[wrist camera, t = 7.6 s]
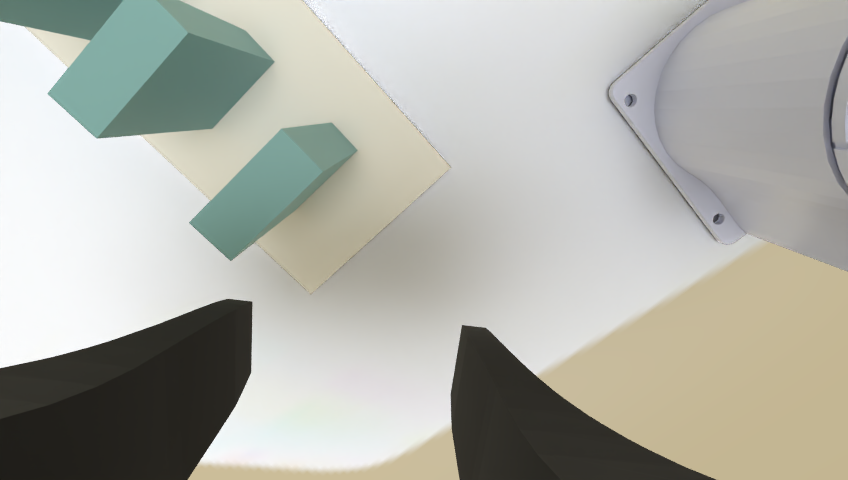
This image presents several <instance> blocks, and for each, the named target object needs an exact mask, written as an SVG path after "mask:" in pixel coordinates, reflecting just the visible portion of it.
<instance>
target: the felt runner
mask: <svg viewBox="0 0 848 480" xmlns="http://www.w3.org/2000/svg"><path fill="white" fill-rule="evenodd" d="M180 1H182V2H184V3H187V4H189V5H191V6H193V7H195V8H197V9H200V10H202V11H204V12H206V13H208V14H211V15H213V16H215V17H217V18H219V19H222V20H224V21H226V22H228V23H230V24H232V25H235V26H237V27H239V28H241V29H243V30H246V31H247V33H248V34H249V35H250V36H251V37H252V38H253V39H254V40H255V41H256V42H257V43H258V44H259V45H260V46H261V47H262V49H263V50H264V51H265V52H266V53H267V54H268V55H269V56H270V57H271V58H272V59H273V60H274V61H275V62H274V63H273V64H272V65H271V66H270V68H269V69H268V70H267V71H266V72H265V73H264V74H263V75H262V76H261V77H260V78H259V79H258V80H257V81H256V83H255V84H254V85H253V86H252V87H251V88H250V89H249V90H248V91H247V92H246V93H245V94H244V95H243V96H242V98H241V99H240V100H239V101H238V102H237V103H236V104H235V105H234V106H233V107H232V108H231V109H230V110H229V111H228V113H227V114H226V115H225V116H224V117H223V118H222V119H221V120H220V121H219V122H218V123H217V124H216V125H215V127H214V128H213V129H204V130H192V131H180V132H168V133H156V134H144V135H141V136H142V137H143V138H144V139H145V140H146V141H147V142H148V143H149V144H150V145H152V146H153V147H154V148H155V149H156V150H157V151H158V152H159V153H160V154H161V155H162V156H163V157H164V158H165V159H167V160H168V161H169V162H170V163H171V164H172V165H173V166H174V167H175V168H176V169H177V170H178V171H179V172H180V173H181V174H183V175H184V176H185V177H186V178H187V179H188V180H189V181H190V182H191V183H192V184H193V185H194V186H195V187H196V188H198V189H199V190H200V191H201V192H202V193H203V194H204V195H205V196H206V197H207V198H208V199H209V200H210V201H211V200H212V199H213V198H214V197H215V196H216V195H217V194H218V193H219V192H220V191H221V190H222V189H223V188H224V187H225V186H226V185H227V184H228V183H229V182H230V181H231V180H232V178H233V177H234V176H235V175H236V174H237V173H238V172H239V171H240V170H241V169H242V168H243V167H244V166H245V165H246V164H247V163H248V162H249V161H250V160H251V159H252V158H253V157H254V156H255V155H256V154H257V153H258V152H259V151H260V150H261V149H262V148H263V147H264V146H265V145H266V144H267V143H268V142H269V141H270V140H271V139H272V138H273V137H274V136H275V135H276V134H277V133H278V132H279V130H280V129H281V128H289V127H298V126H306V125H314V124H322V123H330V122H332V123H333V124H334V125H335V126H336V128H337V129H338V130H339V131H340V132H341V133H342V134H343V135H344V136H345V137H346V138H347V139H348V140H349V141H350V142H351V144H352V145H353V146H354V147H355V148H356V149H357V150H358V151H357V152H356V153H355V154H353V155H352V156H351V157H350V158H349V159H348V160H347V161H346V162H345V163H344V164H343V165H342V166H341V167H340V168H339V169H338V170H337V171H336V172H335V173H334V174H333V175H332V176H331V177H330V178H329V179H327V180H326V181H325V182H324V183H323V184H322V185H321V186H320V187H319V188H318V189H317V190H316V191H315V192H314V193H313V194H312V195H311V196H310V197H309V198H308V199H307V200H306V201H305V202H304V203H303V204H301V205H300V206H299V207H298V208H297V209H296V210H295V211H294V212H293V213H291V214H290V215H289V216H288V217H286V218H285V219H284V220H282V221H281V222H280V223H279V224H277V225H276V226H275V227H273V228H272V229H271V230H270V231H268V232H267V233H266V234H265V235H263V236H262V237H261V238H259V239H258V240H257V241H256V242H255V243H256V244H257V245H258V246H260V247H261V248H262V249H263V250H264V251H265V252H266V253H267V254H268V255H269V256H270V257H271V258H272V259H273V260H275V261H276V262H277V263H278V264H279V265H280V266H281V267H282V268H283V269H284V270H285V271H286V272H287V273H288V274H289V275H291V276H292V277H293V278H294V279H295V280H296V281H297V282H298V283H299V284H300V285H301V286H302V287H303V288H304V289H306V290H307V291H308V292H309V293H310V294H312V293H313V292H314V291H315V290H316V289H317V288H319V287H320V286H321V285H322V284H323V283H324V282H325V281H326V280H327V279H328V278H330V277H331V276H332V275H333V274H334V273H335V272H336V271H337V270H338V269H340V268H341V267H342V266H343V265H344V264H345V263H346V262H347V261H348V260H350V259H351V258H352V257H353V256H354V255H355V254H356V253H357V252H358V251H359V250H361V249H362V248H363V247H364V246H365V245H366V244H367V243H368V242H369V241H371V240H372V239H373V238H374V237H375V236H376V235H377V234H378V233H379V232H380V231H382V230H383V229H384V228H385V227H386V226H387V225H388V224H389V223H390V222H392V221H393V220H394V219H395V218H396V217H397V216H398V215H399V214H400V213H401V212H403V211H404V210H405V209H406V208H407V207H408V206H409V205H410V204H411V203H413V202H414V201H415V200H416V199H417V198H418V197H419V196H420V195H421V194H422V193H424V192H425V191H426V190H427V189H428V188H429V187H430V186H431V185H432V184H434V183H435V182H436V181H437V180H438V179H439V178H440V177H441V176H442V175H443V174H445V173H446V172H447V171H448V170H449V169H450V168H451V167H450V166H449V165H448V163H447V162H446V161H445V160H444V159H443V158H442V157H441V156H440V154H439V153H438V152H437V151H436V150H435V149H434V148H433V147H432V145H431V144H430V143H429V142H428V141H427V140H426V139H425V138H424V136H423V135H422V134H421V133H420V132H419V131H418V130H417V129H416V128H415V126H414V125H413V124H412V123H411V122H410V121H409V120H408V119H407V117H406V116H405V115H404V114H403V113H402V112H401V111H400V110H399V108H398V107H397V106H396V105H395V104H394V103H393V102H392V101H391V99H390V98H389V97H388V96H387V95H386V94H385V93H384V92H383V90H382V89H381V88H380V87H379V86H378V85H377V84H376V83H375V81H374V80H373V79H372V78H371V77H370V76H369V75H368V74H367V72H366V71H365V70H364V69H363V68H362V67H361V66H360V65H359V63H358V62H357V61H356V60H355V59H354V58H353V57H352V56H351V54H350V53H349V52H348V51H347V50H346V49H345V48H344V47H343V45H342V44H341V43H340V42H339V41H338V40H337V39H336V38H335V37H334V35H333V34H332V33H331V32H330V31H329V30H328V29H327V28H326V26H325V25H324V24H323V23H322V22H321V21H320V20H319V19H318V17H317V16H316V15H315V14H314V13H313V12H312V11H311V10H310V8H309V7H308V6H307V5H306V4H305V3H304V2H303V1H302V0H180ZM24 27H25V26H24ZM25 28H26V29H28V30H29V31H30V32H31V33H32V34H33V35H34V36H35V37H36V38H37V39H38V40H39V41H40V42H41V43H43V44H44V45H45V46H46V47H47V48H48V49H49V50H50V51H51V52H52V53H53V54H54V55H55V56H56V57H57V58H59V59H60V60H61V61H62V62H63V63H64V64H65V65H66V66H67V67H68V68H69V67H70V65H71V64H72V63H73V62H74V60H75V59H76V58H77V57H78V56H79V54H80V53H81V52H82V51H83V49H84V48H85V47H86V46H87V44H88V43H89V42H90V41H91V40H86V39H81V38H77V37H72V36H67V35H63V34H58V33H53V32H49V31H44V30H39V29H35V28H30V27H25Z"/></svg>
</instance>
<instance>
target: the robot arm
mask: <svg viewBox="0 0 848 480" xmlns="http://www.w3.org/2000/svg"><path fill="white" fill-rule="evenodd" d="M627 95H631V96H632V98H633V102H632V104H631V105H630V106H626V105H625V98H626V96H627ZM609 97H610V99H611V101H612V102H613V103H614V105H615V106H616V107H617V109H618V110H619V111H620V113H621V114H622V115H623V117H624V118H625V119H626V121H627V122H628V123H629V125H630V126H631V127H632V129H633V130H634V131H635V133H636V134H637V135H638V137H639V138H640V139H641V140H642V142H643V143H644V144H645V146H646V147H647V148H648V150H649V151H650V152H651V154H652V155H653V156H654V158H655V159H656V160H657V162H658V163H659V164H660V166H661V167H662V168H663V170H664V171H665V172H666V174H667V175H668V176H669V178H670V179H671V180H672V182H673V183H674V184H675V186H676V187H677V188H678V190H679V191H680V192H681V194H682V195H683V196H684V198H685V199H686V200H687V202H688V203H689V204H690V206H691V207H692V208H693V210H694V211H695V212H696V213H697V215H698V216H699V217H700V219H701V220H702V221H703V223H704V224H705V225H706V227H707V228H708V229H709V231H710V232H711V233H712V235H713V236H714V237H715V239H716V240H717V241H719V242H720V243H723V244H726V245H728V244H732V243H734V242H736V241H737V240H739V239H740V238H741V237H743V236H744V235H745V234H749V235H752V236H755V237H757V238H760V239H763V240H765V241H768V242H771V243H774V244H776V245H779V246H782V247H784V248H787V249H789V250H792V251H795V252H798V253H800V254H803V255H805V256H808V257H810V258H813V259H816V260H819V261H821V262H824V263H827V264H829V265H832V266H834V267H837V268H840V269H842V270H845V271H848V0H708V1H706V2H705V3H704V4H703V5H702V6H701V7H700V8H698V9H697V10H696V11H695V12H694V13H693V14H692V15H690V16H689V17H688V18H687V19H686V20H685V21H683V22H682V23H681V24H680V25H679V26H678V27H677V28H675V29H674V30H673V31H672V32H671V33H670V34H669V35H667V36H666V37H665V38H664V39H663V40H662V41H661V42H659V43H658V44H657V45H656V46H655V47H654V48H653V49H651V50H650V51H649V52H648V53H647V54H646V55H645V56H643V57H642V58H641V59H640V60H639V61H638V62H636V63H635V64H634V65H633V66H632V67H631V68H630V69H628V70H627V71H626V72H625V73H624V74H623V75H622V76H620V77H619V78H618V79H617V80H616V81H615V82H614V83H613V84H612V85H611V86H610V89H609ZM717 214H719V219H718V220H717V221H716V222H713V218H714V216H715V215H717ZM251 350H252V302H250V301H241V300H233V299H226V300H222V301H218V302H215V303H212V304H210V305H207V306H204V307H201V308H199V309H196V310H194V311H191V312H189V313H186V314H183V315H181V316H178V317H176V318H173V319H170V320H168V321H165V322H163V323H160V324H157V325H155V326H152V327H149V328H146V329H143V330H140V331H138V332H135V333H132V334H129V335H126V336H123V337H120V338H118V339H115V340H112V341H109V342H105V343H102V344H99V345H95V346H92V347H89V348H85V349H81V350H78V351H74V352H70V353H67V354H63V355H59V356H55V357H51V358H47V359H42V360H38V361H33V362H28V363H23V364H19V365H14V366H9V367H4V368H0V480H188V478H189V477H190V475H191V474H192V472H193V470H194V469H195V467H196V466H197V464H198V463H199V461H200V460H201V458H202V457H203V455H204V454H205V452H206V451H207V449H208V448H209V446H210V445H211V443H212V442H213V440H214V439H215V437H216V436H217V434H218V432H219V431H220V429H221V428H222V426H223V425H224V423H225V422H226V420H227V419H228V417H229V415H230V414H231V412H232V411H233V409H234V407H235V406H236V404H237V402H238V400H239V398H240V396H241V393H242V391H243V389H244V387H245V385H246V383H247V380H248V378H249V376H250V374H251ZM451 420H452V433H453V440H454V446H455V453H456V459H457V466H458V472H459V478H460V480H716V479H713V478H711V477H708V476H706V475H703V474H701V473H698V472H696V471H693V470H691V469H688V468H686V467H684V466H682V465H679V464H677V463H675V462H673V461H671V460H669V459H667V458H665V457H663V456H661V455H658V454H656V453H654V452H652V451H650V450H648V449H646V448H644V447H642V446H640V445H638V444H637V443H635V442H632V441H631V440H629V439H627V438H625V437H624V436H622V435H620V434H618V433H617V432H615V431H613V430H611V429H610V428H608V427H606V426H605V425H603V424H601V423H600V422H598V421H596V420H595V419H593V418H592V417H590V416H588V415H587V414H585V413H584V412H582V411H581V410H580V409H578V408H577V407H575V406H574V405H572V404H571V403H570V402H568V401H567V400H565V399H564V398H563V397H561V396H560V395H559V394H557V393H556V392H555V391H553V390H552V389H551V388H550V387H549V386H547V385H546V384H545V383H544V382H543V381H541V380H540V379H539V378H538V377H537V376H536V375H534V374H533V373H532V372H531V371H530V370H529V369H528V368H527V367H526V366H524V365H523V364H522V363H521V362H520V361H519V360H518V359H517V358H516V357H515V356H514V355H513V354H512V353H511V352H510V351H509V350H508V349H507V348H506V347H505V346H504V345H503V344H502V343H501V342H500V341H499V340H498V339H497V338H496V337H495V336H494V335H493V334H492V333H491V332H490V331H489V330H488V329H486V328H482V327H473V326H464V325H462V329H461V335H460V341H459V347H458V353H457V359H456V365H455V371H454V378H453V384H452V390H451Z"/></svg>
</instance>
